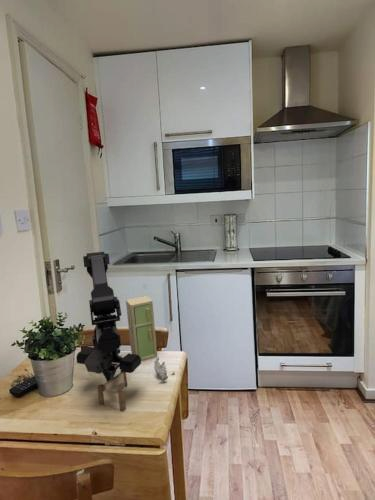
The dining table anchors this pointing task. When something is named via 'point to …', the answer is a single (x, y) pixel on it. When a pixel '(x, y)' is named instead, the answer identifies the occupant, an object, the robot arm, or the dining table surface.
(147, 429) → the dining table surface
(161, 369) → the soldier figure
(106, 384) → the fence gate
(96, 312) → the robot arm
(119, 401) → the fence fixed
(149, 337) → the toy refrigerator
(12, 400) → the dining table surface
